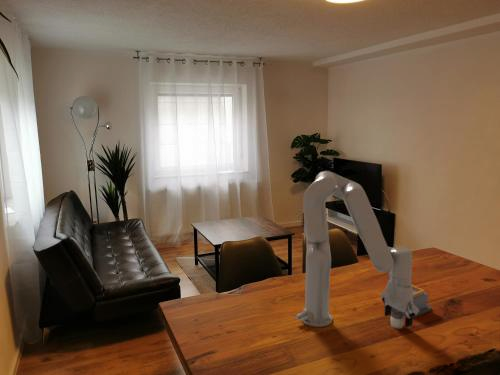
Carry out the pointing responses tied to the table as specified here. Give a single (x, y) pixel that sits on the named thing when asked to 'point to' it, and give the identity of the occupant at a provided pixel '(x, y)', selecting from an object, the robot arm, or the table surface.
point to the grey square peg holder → (420, 300)
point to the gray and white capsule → (397, 318)
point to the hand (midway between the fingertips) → (397, 320)
